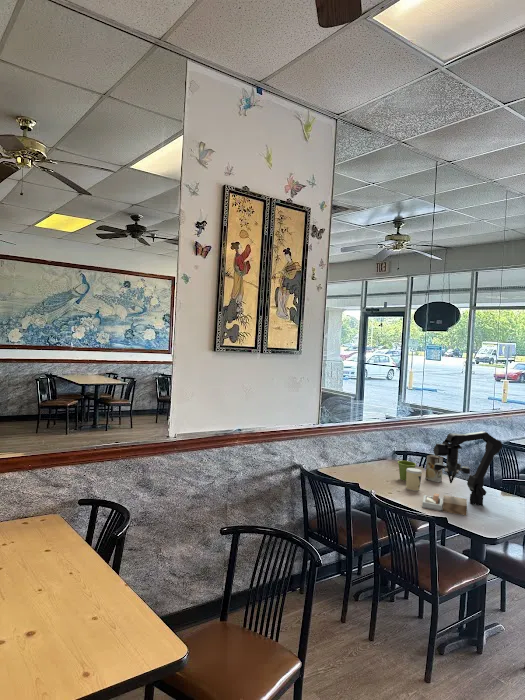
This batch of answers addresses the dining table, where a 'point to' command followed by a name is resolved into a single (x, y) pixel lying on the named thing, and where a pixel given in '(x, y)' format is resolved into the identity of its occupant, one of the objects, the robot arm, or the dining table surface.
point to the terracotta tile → (436, 497)
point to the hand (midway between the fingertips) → (450, 483)
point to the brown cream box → (454, 505)
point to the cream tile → (430, 500)
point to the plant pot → (403, 466)
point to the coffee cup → (413, 479)
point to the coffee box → (430, 471)
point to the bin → (432, 504)
